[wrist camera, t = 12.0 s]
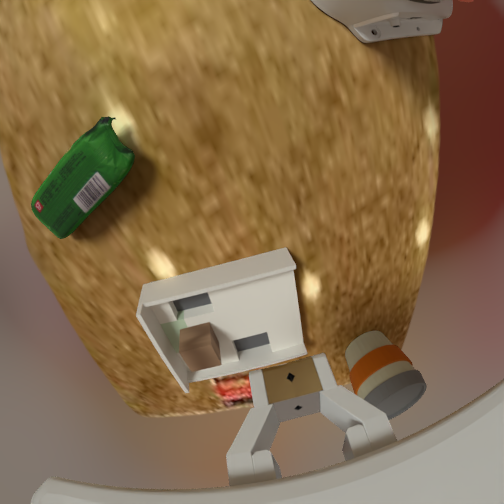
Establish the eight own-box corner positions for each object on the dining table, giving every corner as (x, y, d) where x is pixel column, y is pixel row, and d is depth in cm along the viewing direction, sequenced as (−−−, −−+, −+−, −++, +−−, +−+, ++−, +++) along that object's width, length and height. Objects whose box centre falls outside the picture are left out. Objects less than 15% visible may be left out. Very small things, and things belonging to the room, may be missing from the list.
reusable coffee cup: (326, 350, 52) (356, 415, 39) (382, 312, 49) (424, 371, 36) (349, 374, 57) (375, 429, 45) (397, 343, 55) (430, 394, 42)
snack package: (151, 155, 31) (142, 164, 26) (69, 236, 33) (54, 255, 29) (113, 111, 27) (98, 113, 23) (36, 199, 30) (17, 214, 26)
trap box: (286, 247, 39) (300, 273, 34) (299, 334, 48) (310, 363, 42) (143, 284, 38) (135, 315, 33) (185, 362, 47) (185, 393, 42)
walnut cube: (209, 321, 40) (211, 344, 36) (219, 342, 42) (221, 365, 39) (179, 329, 40) (178, 352, 36) (191, 349, 42) (191, 371, 38)
